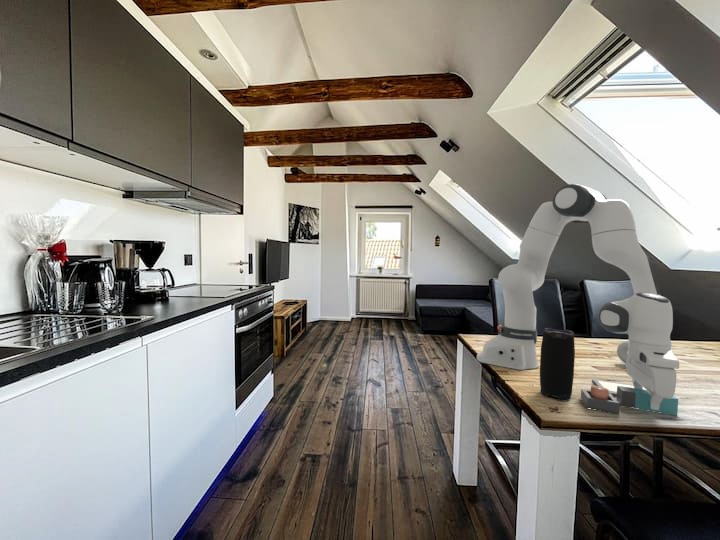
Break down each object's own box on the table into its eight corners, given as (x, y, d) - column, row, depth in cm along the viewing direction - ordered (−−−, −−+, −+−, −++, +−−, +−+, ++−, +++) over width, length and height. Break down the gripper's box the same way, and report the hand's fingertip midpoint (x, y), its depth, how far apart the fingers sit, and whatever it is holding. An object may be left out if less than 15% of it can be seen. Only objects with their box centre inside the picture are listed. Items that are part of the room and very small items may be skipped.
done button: (592, 400, 88) (593, 389, 88) (588, 395, 92) (589, 384, 92) (610, 403, 86) (611, 392, 86) (605, 397, 90) (606, 387, 90)
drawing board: (603, 394, 98) (603, 391, 98) (592, 381, 109) (592, 378, 109) (671, 404, 92) (671, 401, 92) (652, 389, 103) (652, 387, 103)
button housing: (587, 408, 87) (587, 398, 87) (580, 399, 94) (581, 388, 94) (619, 414, 85) (619, 403, 84) (609, 403, 91) (610, 393, 91)
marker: (621, 406, 90) (622, 390, 89) (616, 400, 93) (617, 385, 93) (677, 415, 85) (678, 399, 85) (669, 409, 89) (670, 393, 89)
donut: (649, 369, 124) (650, 343, 124) (645, 370, 123) (646, 344, 123) (618, 361, 133) (619, 337, 133) (614, 362, 132) (615, 338, 131)
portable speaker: (571, 393, 97) (575, 329, 97) (572, 405, 89) (576, 335, 89) (539, 387, 102) (542, 325, 101) (537, 397, 94) (541, 330, 93)
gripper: (620, 342, 100) (618, 386, 100) (650, 360, 81) (647, 414, 81) (646, 345, 97) (643, 390, 98) (683, 364, 78) (680, 420, 79)
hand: (645, 401), depth 89 cm, fingers open, 8 cm apart
